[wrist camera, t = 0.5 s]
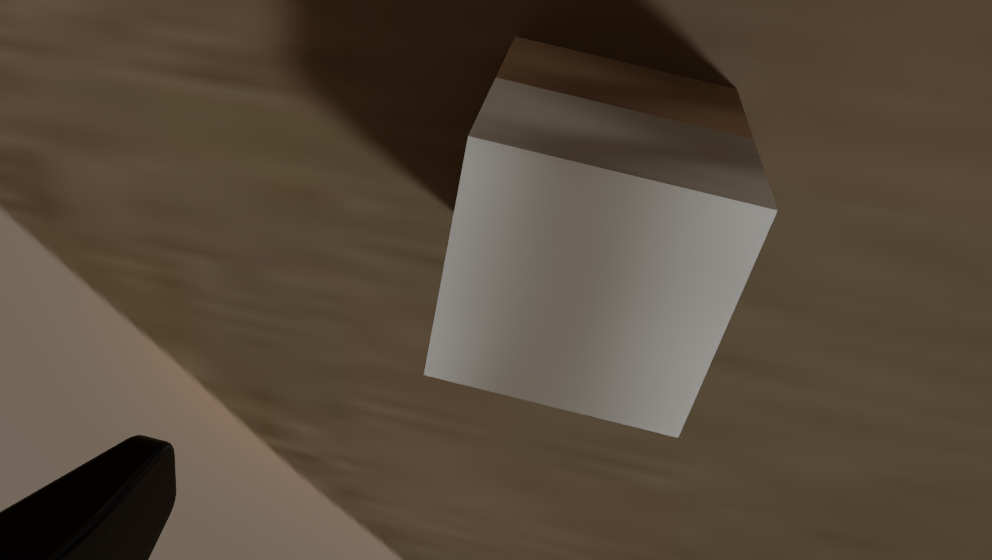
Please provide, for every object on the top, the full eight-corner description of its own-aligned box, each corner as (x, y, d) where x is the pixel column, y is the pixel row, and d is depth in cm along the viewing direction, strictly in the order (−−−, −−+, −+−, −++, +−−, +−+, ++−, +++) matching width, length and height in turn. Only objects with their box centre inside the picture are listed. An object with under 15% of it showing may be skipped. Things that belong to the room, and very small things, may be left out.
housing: (736, 88, 18) (777, 210, 13) (667, 275, 20) (678, 437, 15) (515, 35, 18) (467, 135, 13) (476, 228, 20) (423, 374, 15)
